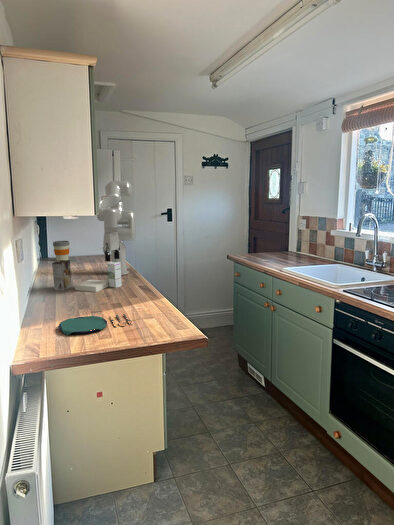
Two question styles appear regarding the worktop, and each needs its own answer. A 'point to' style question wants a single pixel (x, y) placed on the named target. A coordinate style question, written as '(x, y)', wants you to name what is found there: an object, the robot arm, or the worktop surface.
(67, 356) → the worktop surface
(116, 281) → the syrup box
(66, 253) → the reusable coffee cup
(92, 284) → the base plinth
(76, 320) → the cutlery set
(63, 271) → the coffee box
